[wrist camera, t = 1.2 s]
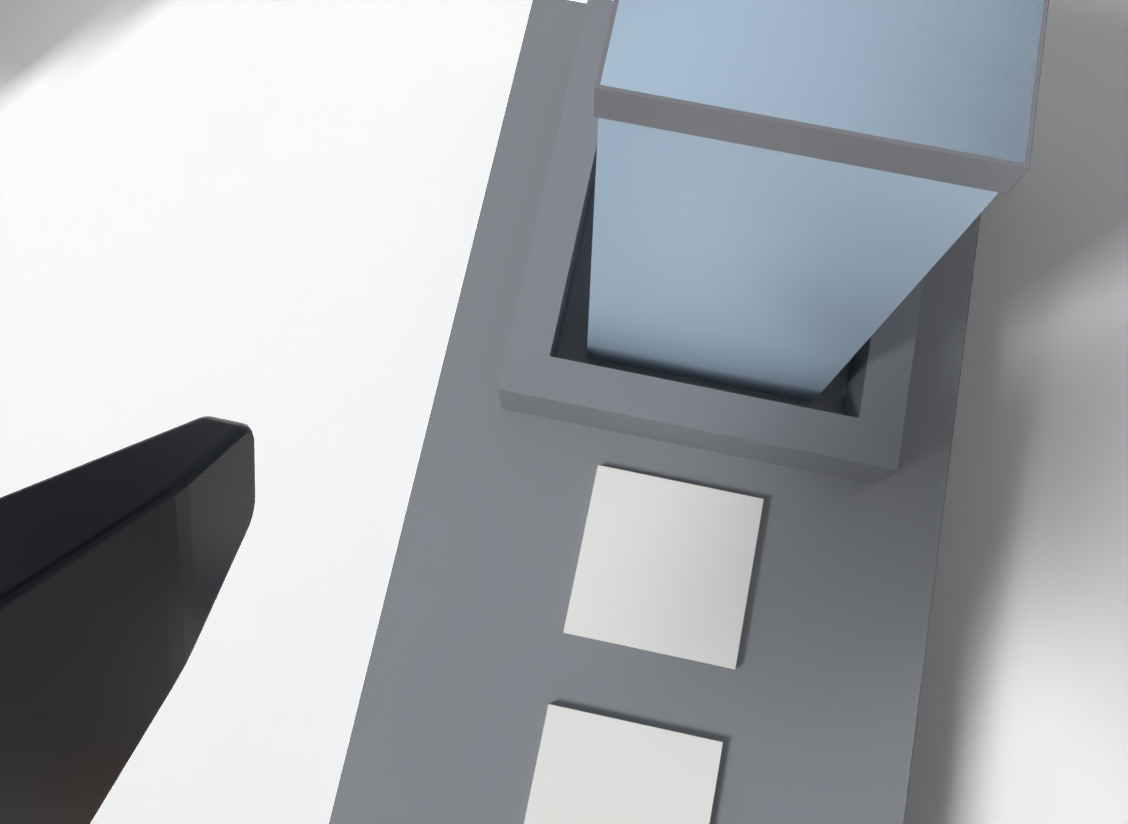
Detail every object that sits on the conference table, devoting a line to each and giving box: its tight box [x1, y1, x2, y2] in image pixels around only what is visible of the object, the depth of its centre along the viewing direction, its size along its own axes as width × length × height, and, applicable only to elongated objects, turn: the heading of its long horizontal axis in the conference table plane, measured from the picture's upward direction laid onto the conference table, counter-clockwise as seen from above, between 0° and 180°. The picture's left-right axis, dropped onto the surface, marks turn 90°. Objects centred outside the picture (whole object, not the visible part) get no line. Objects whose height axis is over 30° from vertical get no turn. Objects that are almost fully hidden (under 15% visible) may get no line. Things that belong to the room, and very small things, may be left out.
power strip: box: [329, 0, 981, 824], centre depth 21 cm, size 20×10×4 cm, turn 168°
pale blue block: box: [587, 0, 1049, 402], centre depth 17 cm, size 5×6×10 cm
